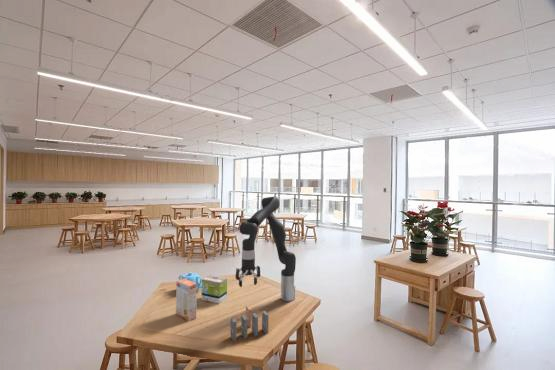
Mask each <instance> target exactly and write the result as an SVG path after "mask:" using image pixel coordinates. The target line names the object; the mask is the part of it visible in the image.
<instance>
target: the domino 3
mask: <svg viewBox="0 0 555 370" xmlns="http://www.w3.org/2000/svg"><path fill="white" fill-rule="evenodd" d="M252 311H253V310H252V308H251V306H250V305H246V306H245V317H246V318H247V328H252Z"/></svg>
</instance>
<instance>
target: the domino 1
mask: <svg viewBox="0 0 555 370" xmlns="http://www.w3.org/2000/svg"><path fill="white" fill-rule="evenodd" d="M230 338H231V341H232V342H233V343H234V342H237V320H236V318H235V317H230Z"/></svg>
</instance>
